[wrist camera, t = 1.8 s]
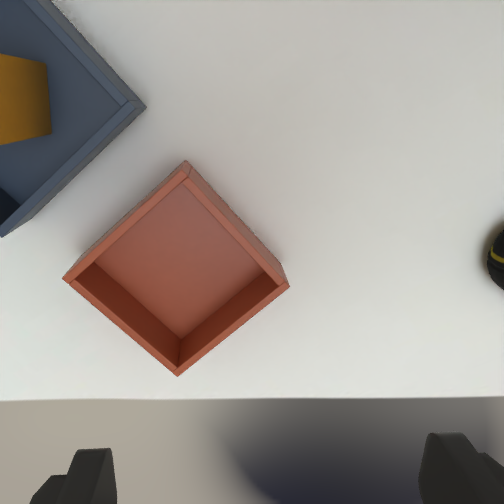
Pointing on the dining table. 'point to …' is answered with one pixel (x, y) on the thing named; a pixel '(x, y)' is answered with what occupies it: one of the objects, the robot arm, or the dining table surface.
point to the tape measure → (497, 261)
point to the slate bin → (58, 108)
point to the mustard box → (23, 99)
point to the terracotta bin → (179, 271)
